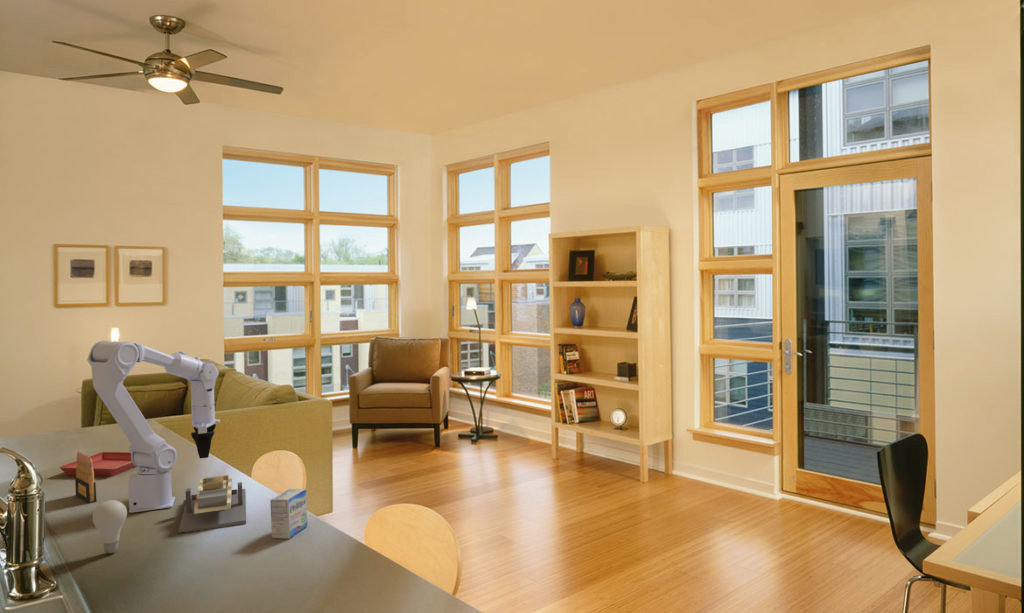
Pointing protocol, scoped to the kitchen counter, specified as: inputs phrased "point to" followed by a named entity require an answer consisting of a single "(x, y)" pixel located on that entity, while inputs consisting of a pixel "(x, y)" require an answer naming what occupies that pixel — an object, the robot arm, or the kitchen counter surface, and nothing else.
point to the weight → (213, 483)
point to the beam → (214, 497)
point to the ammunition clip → (85, 478)
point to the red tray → (105, 464)
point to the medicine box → (288, 513)
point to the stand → (214, 513)
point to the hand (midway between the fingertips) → (204, 454)
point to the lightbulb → (110, 523)
